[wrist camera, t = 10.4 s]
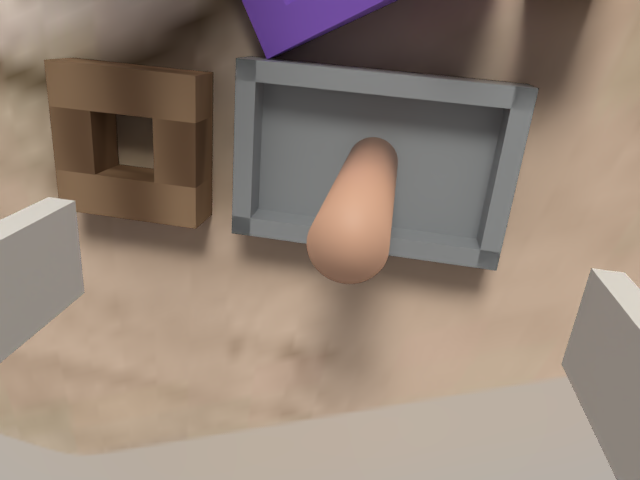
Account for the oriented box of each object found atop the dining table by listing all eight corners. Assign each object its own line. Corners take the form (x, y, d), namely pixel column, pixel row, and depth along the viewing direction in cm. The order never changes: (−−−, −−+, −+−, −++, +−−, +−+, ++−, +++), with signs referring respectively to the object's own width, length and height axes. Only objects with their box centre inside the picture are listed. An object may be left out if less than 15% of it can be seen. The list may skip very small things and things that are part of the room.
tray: (244, 218, 31) (231, 232, 29) (250, 56, 27) (236, 58, 25) (490, 252, 29) (496, 270, 27) (527, 83, 26) (538, 88, 24)
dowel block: (85, 196, 32) (59, 209, 30) (73, 57, 29) (44, 59, 27) (211, 214, 31) (195, 228, 29) (213, 72, 28) (195, 75, 26)
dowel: (346, 183, 28) (304, 278, 17) (350, 134, 27) (308, 201, 16) (395, 188, 28) (384, 288, 17) (400, 139, 27) (393, 211, 16)
